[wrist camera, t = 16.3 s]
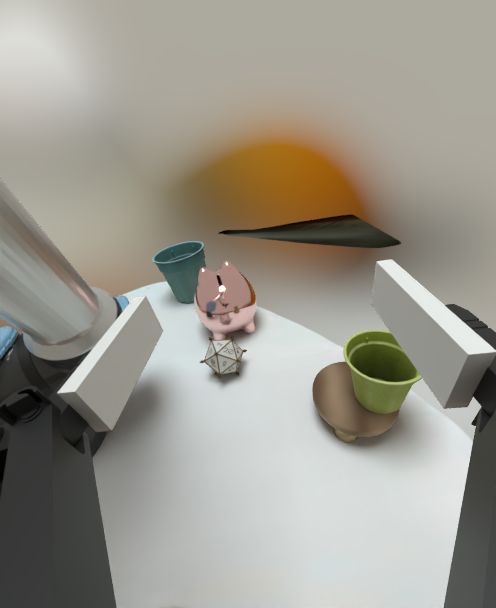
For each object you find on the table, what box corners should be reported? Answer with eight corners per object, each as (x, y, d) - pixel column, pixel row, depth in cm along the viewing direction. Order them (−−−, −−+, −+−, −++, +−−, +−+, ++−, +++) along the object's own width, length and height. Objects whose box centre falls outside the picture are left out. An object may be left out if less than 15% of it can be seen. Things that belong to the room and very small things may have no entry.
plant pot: (335, 410, 34) (335, 369, 30) (349, 363, 40) (351, 324, 36) (413, 439, 29) (428, 396, 25) (416, 381, 36) (428, 337, 31)
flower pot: (207, 306, 74) (191, 259, 65) (162, 309, 78) (141, 264, 70) (222, 281, 87) (210, 238, 79) (183, 284, 92) (167, 244, 83)
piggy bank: (250, 299, 73) (239, 250, 64) (269, 334, 58) (257, 276, 49) (201, 314, 71) (183, 265, 63) (207, 354, 56) (185, 297, 47)
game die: (239, 374, 54) (257, 338, 51) (227, 397, 46) (248, 356, 43) (204, 356, 55) (220, 319, 52) (187, 375, 47) (205, 333, 44)
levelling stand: (322, 450, 34) (321, 433, 32) (308, 381, 44) (306, 365, 42) (411, 446, 33) (417, 428, 30) (376, 376, 43) (379, 358, 40)
